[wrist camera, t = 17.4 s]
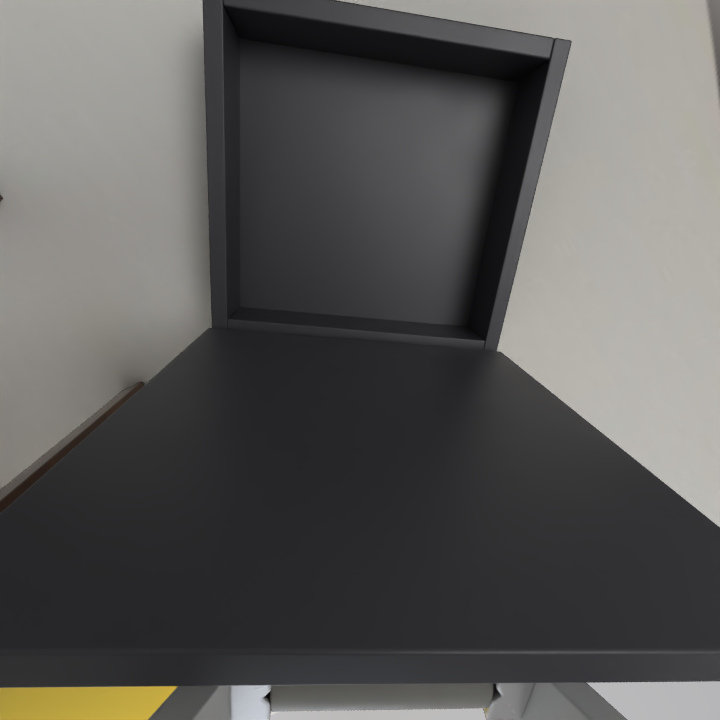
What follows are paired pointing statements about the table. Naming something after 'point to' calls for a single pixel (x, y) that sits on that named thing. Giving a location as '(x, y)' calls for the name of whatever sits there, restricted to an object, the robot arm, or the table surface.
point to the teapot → (82, 703)
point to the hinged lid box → (370, 169)
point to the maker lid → (352, 537)
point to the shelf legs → (62, 448)
